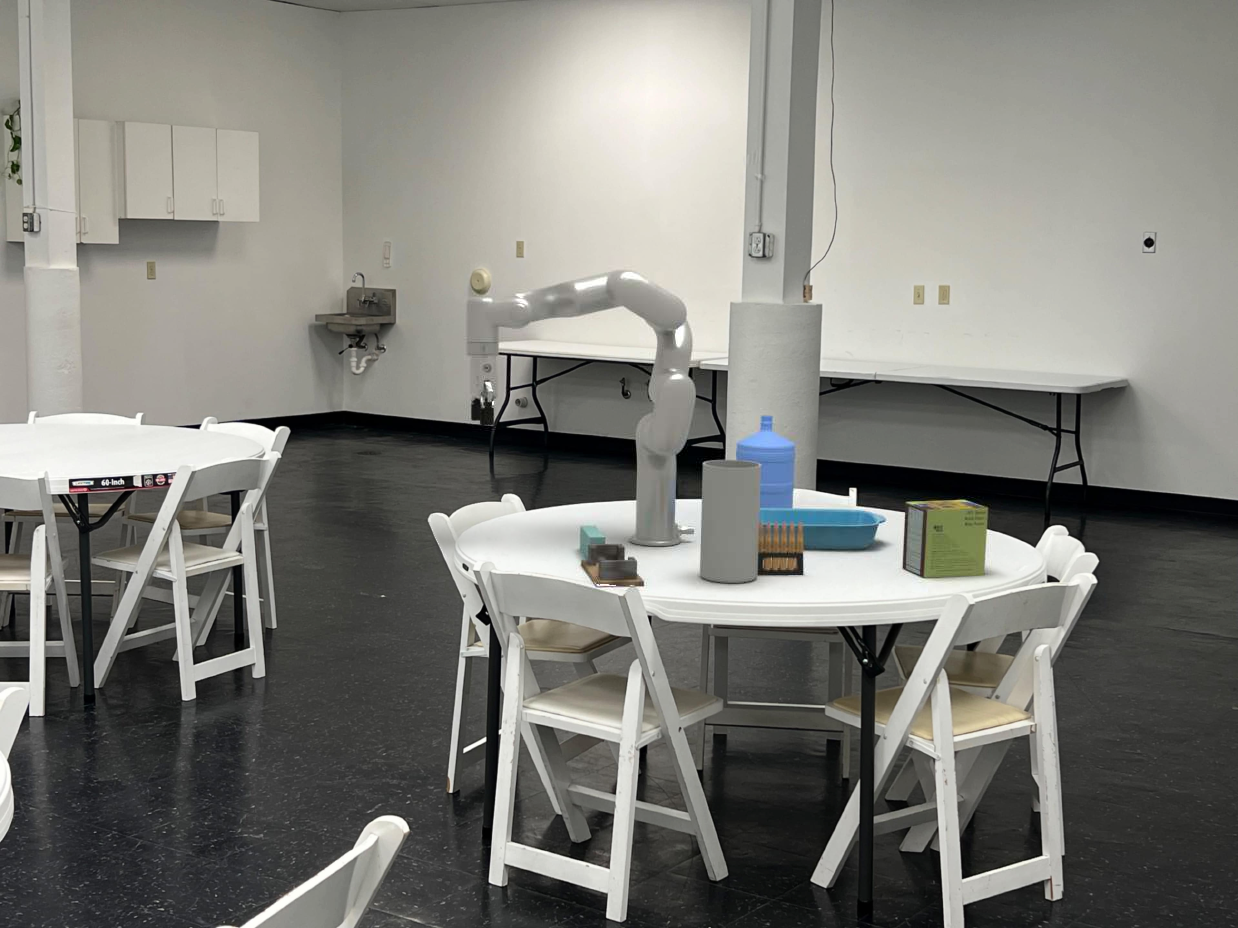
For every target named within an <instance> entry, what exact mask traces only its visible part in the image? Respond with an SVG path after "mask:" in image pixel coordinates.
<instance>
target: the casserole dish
mask: <svg viewBox="0 0 1238 928" xmlns="http://www.w3.org/2000/svg"><path fill="white" fill-rule="evenodd" d="M760 521H762V524H763V538H764V541H765V534H766V526H767V523H768V521H769V522H770V525H771V539H772V540H773V534H774V526H775V523H776V521H777V522H778V526H779V540H780V539H781V531H782V525H783V522H784V521H785V522H786V527H787V550H788V539H789V532H790V525H791V522H792V521H793V522H794V526H795V550H796V539H797V532H798V525H799V523H800V521H801V522H802V526H803V550H833V551H834V550H838V551H839V550H841V551H843V550H844V551H847V550H848V551H849V550H850V551H853V550H855V551H856V550H864V549H866V548H867V547H869V546H870V545H871V544H872V543H873V542H874V540H875V537H876V534H877V531H878V527H879V525H880V524H883V523H885V522H886V521H887V519H886V517H885V516H883V515H881V514H877V513H873V512H871V511H868V510H867V511H866V510H860V509H844V508H841V509H840V508H836V509H835V508H832V509H831V508H797V507H796V508H760V514H759V523H760ZM779 549H780V545H779Z"/></svg>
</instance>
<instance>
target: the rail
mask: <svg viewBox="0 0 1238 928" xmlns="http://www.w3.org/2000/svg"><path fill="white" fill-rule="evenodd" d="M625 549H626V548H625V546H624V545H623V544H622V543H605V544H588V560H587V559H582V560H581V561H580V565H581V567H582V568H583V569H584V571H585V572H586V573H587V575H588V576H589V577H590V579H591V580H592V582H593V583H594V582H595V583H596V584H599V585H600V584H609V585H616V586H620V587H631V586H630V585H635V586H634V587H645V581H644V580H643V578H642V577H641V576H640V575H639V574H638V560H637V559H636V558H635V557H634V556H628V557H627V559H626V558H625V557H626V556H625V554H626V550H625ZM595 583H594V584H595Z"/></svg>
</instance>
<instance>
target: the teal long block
mask: <svg viewBox="0 0 1238 928" xmlns="http://www.w3.org/2000/svg"><path fill="white" fill-rule="evenodd" d="M579 529H580V530H579V551H580V550H581V551H582V552H581V551H580V552H581V554H582V553H583V554H584V555H583V554H582V555H583V556H584V558H585V557H586V558H585V560H588V544H606V536H605V535H604V533H602V531H601V530H600V529H599V528H598V527H597V526H596V525H580V528H579Z"/></svg>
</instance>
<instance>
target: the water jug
mask: <svg viewBox="0 0 1238 928" xmlns="http://www.w3.org/2000/svg"><path fill="white" fill-rule="evenodd" d="M760 418H761V419H760V430H759V431H757V432H755V433H753V434H751V435H749V436H747V437H745V438H742V439H740V440H738V441H737V442H736V449H735V458H736V459H735V460H741V461H750V462H756V463H759V464H761V484H760V508H793V507H794V506H793V505H794V491H795V490H794V489H795V479H794V478H795V477H794V476H795V459H796V450H795V449H796V445H795V443H794V442H793V441H791V440H789V439H787V438H785V437H783V436H781V435H779V434H777V433H776V432H774V431H773V424H774V423H773V418H774V416H773V415H767V414H766V415H760Z"/></svg>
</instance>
